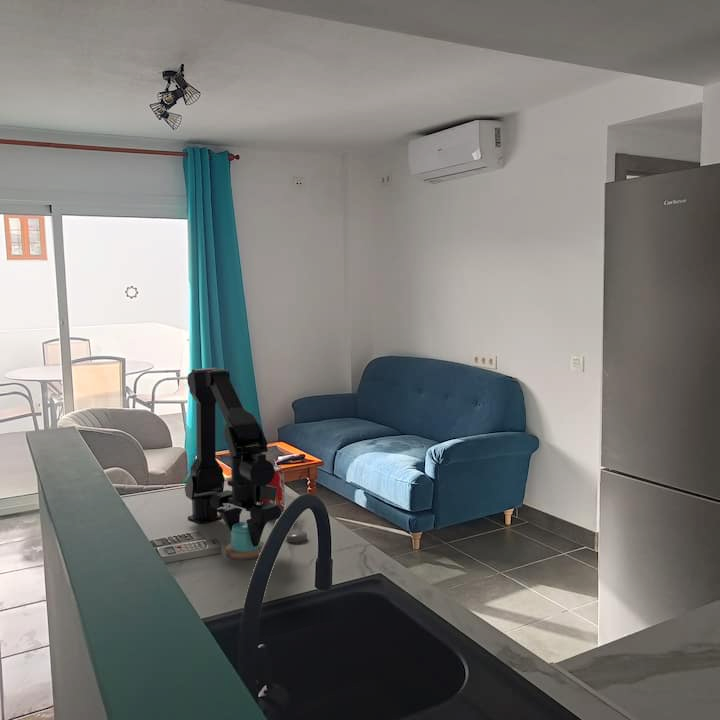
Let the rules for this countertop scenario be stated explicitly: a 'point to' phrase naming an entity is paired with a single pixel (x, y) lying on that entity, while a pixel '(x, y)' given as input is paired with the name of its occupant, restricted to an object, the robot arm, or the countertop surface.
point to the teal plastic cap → (242, 538)
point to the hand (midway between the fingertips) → (245, 542)
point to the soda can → (279, 483)
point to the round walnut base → (243, 553)
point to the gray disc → (296, 537)
